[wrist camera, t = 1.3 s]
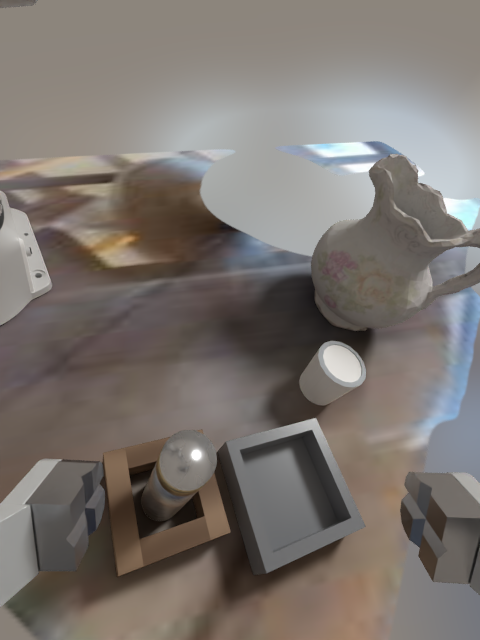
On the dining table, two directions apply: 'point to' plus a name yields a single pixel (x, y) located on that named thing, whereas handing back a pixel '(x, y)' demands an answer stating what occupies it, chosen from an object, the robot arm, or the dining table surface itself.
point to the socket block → (123, 518)
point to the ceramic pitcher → (388, 253)
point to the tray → (287, 494)
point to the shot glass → (332, 373)
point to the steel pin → (178, 474)
